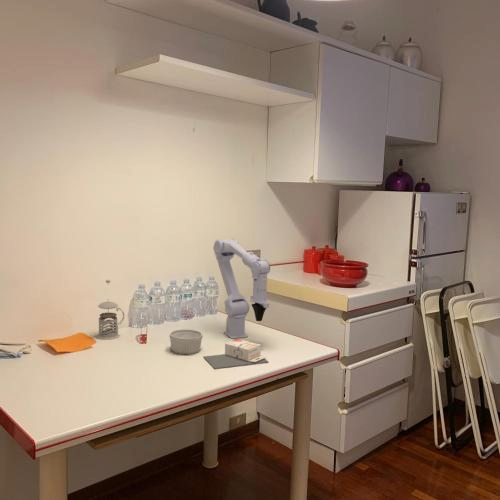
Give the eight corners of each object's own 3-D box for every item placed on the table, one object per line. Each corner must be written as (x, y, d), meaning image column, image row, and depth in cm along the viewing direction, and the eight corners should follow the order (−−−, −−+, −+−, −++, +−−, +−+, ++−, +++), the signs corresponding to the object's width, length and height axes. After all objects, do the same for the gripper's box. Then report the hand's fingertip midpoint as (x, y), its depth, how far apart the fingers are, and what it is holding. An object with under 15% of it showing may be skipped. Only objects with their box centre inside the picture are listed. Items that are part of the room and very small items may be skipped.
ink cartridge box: (237, 337, 206) (267, 345, 197) (237, 349, 206) (267, 357, 198) (224, 342, 199) (255, 351, 190) (224, 354, 200) (254, 363, 191)
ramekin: (204, 346, 211) (205, 330, 210) (198, 356, 198) (199, 339, 197) (173, 344, 212) (174, 328, 211) (165, 354, 199) (165, 337, 198)
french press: (94, 334, 221) (94, 278, 218) (121, 331, 226) (121, 276, 223) (98, 340, 212) (97, 282, 209) (126, 338, 217) (126, 281, 214)
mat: (203, 357, 197) (203, 356, 197) (254, 351, 206) (254, 350, 206) (214, 369, 185) (214, 368, 185) (268, 362, 194) (268, 361, 194)
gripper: (244, 286, 217) (243, 317, 219) (258, 293, 204) (257, 325, 206) (259, 285, 220) (258, 316, 222) (274, 292, 207) (272, 324, 208)
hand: (258, 320), depth 214 cm, fingers closed
